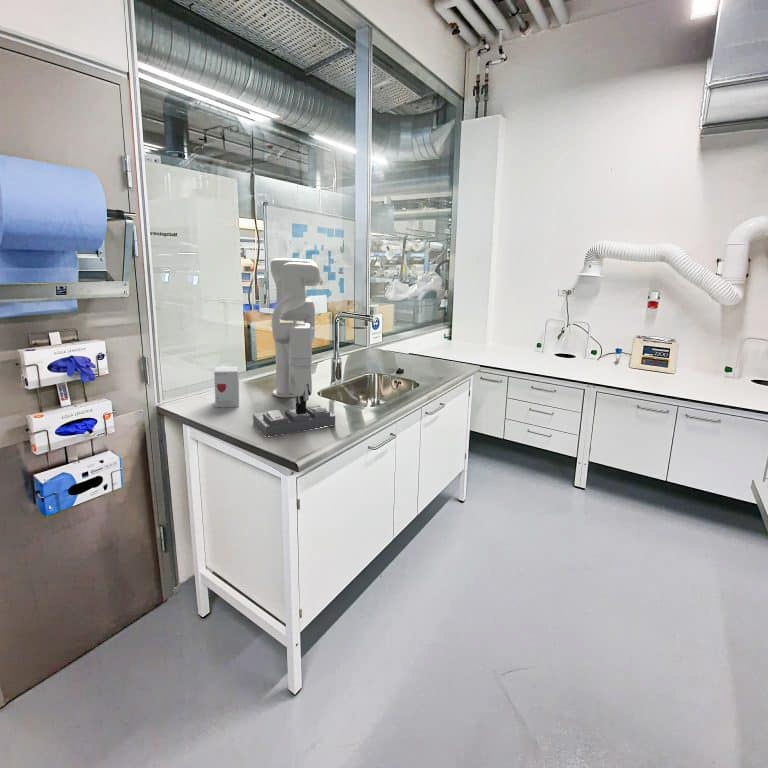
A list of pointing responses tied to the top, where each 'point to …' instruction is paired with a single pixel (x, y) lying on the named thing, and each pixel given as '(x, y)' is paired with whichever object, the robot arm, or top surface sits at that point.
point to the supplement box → (226, 386)
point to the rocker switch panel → (292, 421)
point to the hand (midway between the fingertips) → (300, 413)
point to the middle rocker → (295, 413)
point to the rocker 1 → (275, 415)
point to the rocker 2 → (318, 409)
